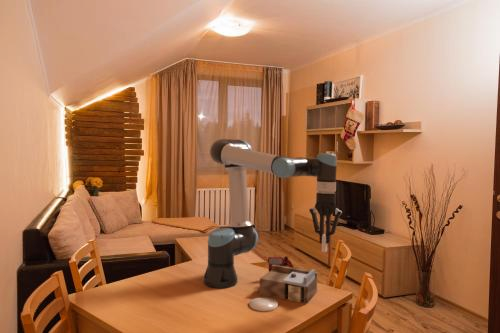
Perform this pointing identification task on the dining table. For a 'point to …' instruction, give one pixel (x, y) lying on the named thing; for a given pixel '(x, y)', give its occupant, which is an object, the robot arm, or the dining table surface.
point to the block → (295, 293)
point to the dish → (263, 304)
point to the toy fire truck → (279, 262)
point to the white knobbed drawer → (300, 278)
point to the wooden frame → (276, 288)
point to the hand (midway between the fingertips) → (324, 251)
